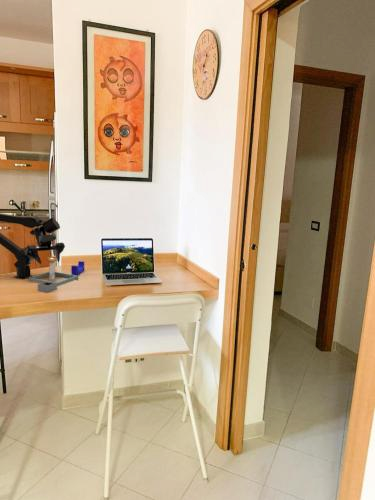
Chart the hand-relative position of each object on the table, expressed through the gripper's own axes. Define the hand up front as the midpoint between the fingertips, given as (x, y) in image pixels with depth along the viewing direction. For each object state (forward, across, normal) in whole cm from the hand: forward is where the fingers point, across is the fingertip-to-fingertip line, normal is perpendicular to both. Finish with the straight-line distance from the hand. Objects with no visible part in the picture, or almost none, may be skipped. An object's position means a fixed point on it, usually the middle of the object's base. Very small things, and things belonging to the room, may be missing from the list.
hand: (50, 262), depth 190 cm
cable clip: (0, +20, +17) cm, 26 cm away
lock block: (+17, -6, -2) cm, 19 cm away
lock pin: (+9, 0, +6) cm, 11 cm away
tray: (+7, +2, +9) cm, 11 cm away
